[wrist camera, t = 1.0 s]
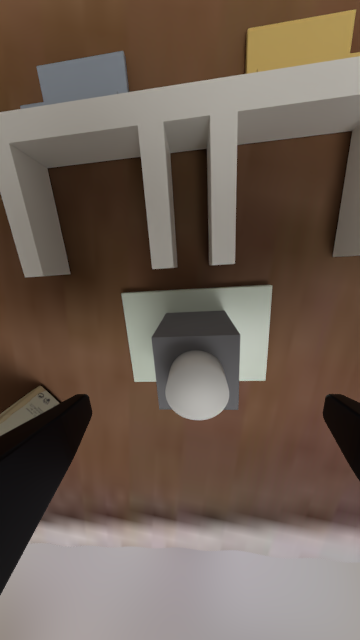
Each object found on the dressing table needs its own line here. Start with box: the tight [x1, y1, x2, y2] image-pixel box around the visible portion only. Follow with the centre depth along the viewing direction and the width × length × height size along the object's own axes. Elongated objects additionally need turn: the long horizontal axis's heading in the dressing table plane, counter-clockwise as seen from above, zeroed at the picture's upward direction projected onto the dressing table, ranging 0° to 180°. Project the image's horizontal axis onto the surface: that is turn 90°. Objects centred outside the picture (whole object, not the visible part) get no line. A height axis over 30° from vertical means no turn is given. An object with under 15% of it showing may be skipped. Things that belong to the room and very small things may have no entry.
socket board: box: [0, 9, 360, 277], centre depth 10 cm, size 20×11×2 cm, turn 94°
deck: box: [121, 285, 272, 382], centre depth 14 cm, size 10×7×1 cm
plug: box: [151, 310, 240, 420], centre depth 10 cm, size 4×4×6 cm
